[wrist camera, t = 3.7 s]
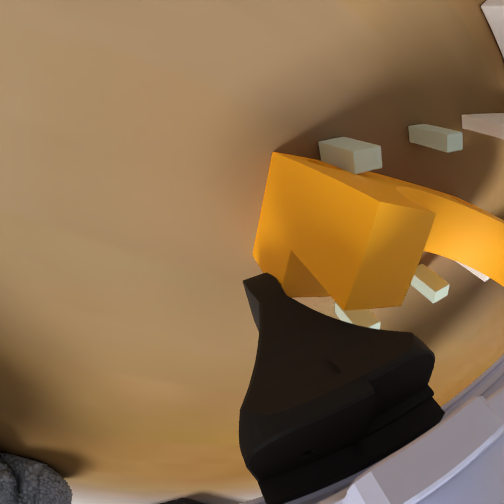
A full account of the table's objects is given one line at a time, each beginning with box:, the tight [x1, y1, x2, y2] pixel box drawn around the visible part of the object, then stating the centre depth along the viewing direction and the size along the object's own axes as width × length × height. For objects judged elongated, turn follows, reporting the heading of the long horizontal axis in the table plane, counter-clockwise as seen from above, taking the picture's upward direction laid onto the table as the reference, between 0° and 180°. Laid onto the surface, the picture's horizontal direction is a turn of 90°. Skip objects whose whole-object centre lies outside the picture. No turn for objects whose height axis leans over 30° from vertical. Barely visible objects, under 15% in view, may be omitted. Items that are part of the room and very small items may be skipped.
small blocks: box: [318, 137, 382, 329], centre depth 13 cm, size 9×1×2 cm, turn 12°
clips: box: [408, 124, 463, 304], centre depth 13 cm, size 9×1×2 cm, turn 12°
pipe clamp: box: [252, 152, 504, 311], centre depth 11 cm, size 12×4×6 cm, turn 79°
